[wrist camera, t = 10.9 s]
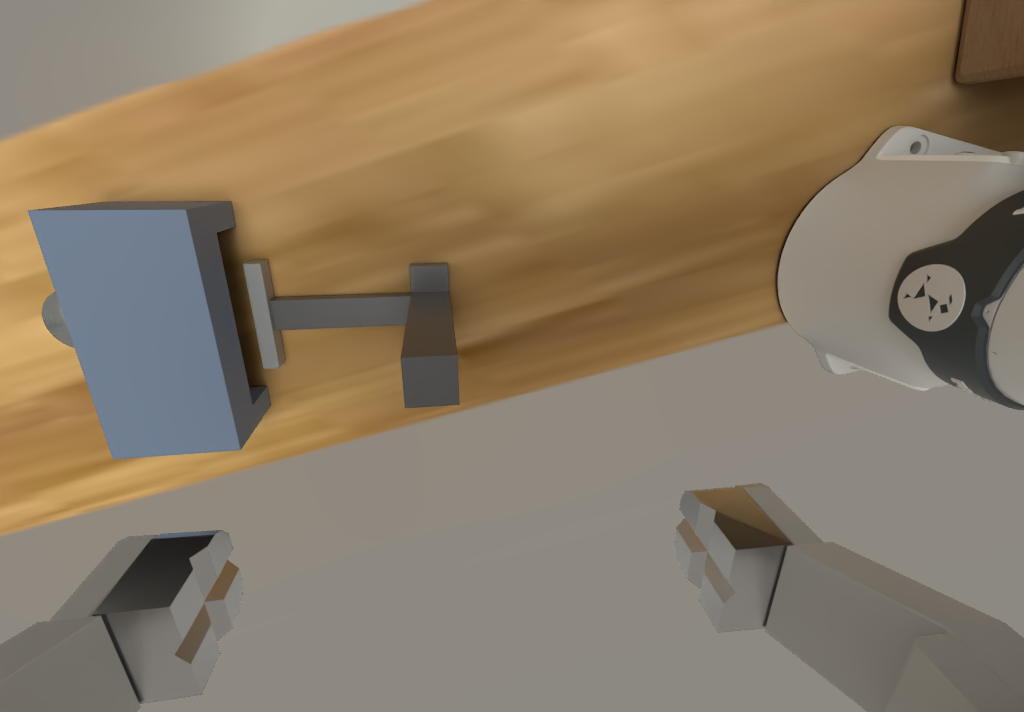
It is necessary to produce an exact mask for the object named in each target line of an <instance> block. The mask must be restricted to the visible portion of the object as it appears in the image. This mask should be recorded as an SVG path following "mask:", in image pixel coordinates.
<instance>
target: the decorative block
mask: <svg viewBox="0 0 1024 712" xmlns="http://www.w3.org/2000/svg"><path fill="white" fill-rule="evenodd" d="M1023 76H1024V0H967V2H966V8H965V15H964V21H963V28H962V34H961V41H960V48H959V54H958V61H957V67H956V74H955V78H956V82H959V83H963V84H966V85H969V84H976V83H983V82H989V81H996V80H1003V79H1009V78H1016V77H1023Z"/></svg>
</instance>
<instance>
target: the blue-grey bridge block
mask: <svg viewBox="0 0 1024 712" xmlns="http://www.w3.org/2000/svg"><path fill="white" fill-rule="evenodd" d="M28 213H29V216H30V219H31V222H32V225H33V228H34V231H35V233H36V236H37V239H38V242H39V245H40V248H41V251H42V254H43V257H44V260H45V263H46V266H47V268H48V271H49V274H50V277H51V280H52V283H53V286H54V289H55V292H56V295H57V298H58V301H59V303H60V306H61V309H62V312H63V315H64V318H65V321H66V324H67V327H68V330H69V333H70V336H71V338H72V341H73V344H74V347H75V350H76V353H77V356H78V359H79V362H80V365H81V368H82V371H83V373H84V376H85V379H86V382H87V385H88V388H89V391H90V394H91V397H92V400H93V403H94V406H95V409H96V411H97V414H98V417H99V420H100V423H101V426H102V429H103V432H104V435H105V438H106V441H107V444H108V446H109V449H110V452H111V455H112V458H113V459H125V458H139V457H153V456H167V455H180V454H194V453H208V452H222V451H236V450H241V449H242V447H243V446H244V444H245V443H246V442H247V440H248V439H249V437H250V436H251V434H252V433H253V431H254V430H255V428H256V427H257V425H258V424H259V422H260V421H261V419H262V418H263V416H264V415H265V413H266V412H267V410H268V409H269V407H270V406H271V403H270V398H269V393H268V388H267V386H262V387H249V385H248V380H247V375H246V371H245V366H244V361H243V356H242V352H241V347H240V342H239V337H238V333H237V328H236V323H235V318H234V313H233V309H232V304H231V299H230V294H229V290H228V285H227V280H226V275H225V271H224V266H223V261H222V256H221V252H220V247H219V242H218V237H217V232H220V231H223V230H226V229H230V228H233V227H236V224H235V218H234V213H233V208H232V203H231V201H199V202H99V203H90V204H81V205H72V206H64V207H55V208H46V209H37V210H28Z"/></svg>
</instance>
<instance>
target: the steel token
mask: <svg viewBox="0 0 1024 712" xmlns="http://www.w3.org/2000/svg"><path fill="white" fill-rule="evenodd" d="M42 317H43V321H44V323H45V326H46V327H47V329H48V330H49V332H50V333H51V334H52V335H53V336H54V337H55V338H56V339H58V340H59V341H61V342H62V343H64V344H66V345H68V346H70V347H73V348H75V347H74V344H73V341H72V338H71V336H70V333H69V330H68V327H67V324H66V321H65V318H64V315H63V312H62V309H61V306H60V303H59V301H58V298H57V295H56V292H54V293H52V294H51V295H50V296H48V298H47V299H46V300H45V302H44V304H43V307H42Z"/></svg>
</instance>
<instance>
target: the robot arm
mask: <svg viewBox="0 0 1024 712" xmlns="http://www.w3.org/2000/svg"><path fill="white" fill-rule="evenodd" d="M911 145H912V149H911V151H910V147H911ZM778 295H779V301H780V305H781V308H782V311H783V313H784V316H785V318H786V319H787V321H788V323H789V324H790V326H791V327H792V328H793V329H794V330H795V331H796V332H797V333H798V334H799V335H800V336H801V337H803V338H804V339H805V340H807V341H808V342H809V343H810V344H811V345H812V346H813V347H814V348H815V351H816V354H817V356H818V359H819V361H820V363H821V365H822V367H823V368H824V369H825V370H826V371H828V372H831V373H834V374H836V375H844V374H848V373H852V372H856V371H860V370H865V371H868V372H870V373H873V374H875V375H878V376H880V377H883V378H886V379H888V380H891V381H894V382H896V383H899V384H901V385H904V386H907V387H909V388H912V389H915V390H921V391H927V390H929V389H930V388H937V387H943V386H946V385H949V384H951V385H953V386H956V387H958V388H961V390H963V391H964V392H966V393H968V394H970V395H973V396H975V397H978V398H980V399H983V400H987V401H989V402H993V403H998V404H1002V405H1004V406H1007V407H1009V408H1013V409H1018V410H1024V152H1019V151H1005V152H1003V153H1002V152H998V151H995V150H991V149H988V148H984V147H981V146H978V145H974V144H971V143H967V142H964V141H960V140H957V139H954V138H950V137H947V136H943V135H940V134H936V133H933V132H930V131H926V130H923V129H919V128H916V127H912V126H894V127H891V128H889V129H888V130H887V131H886V132H884V133H883V134H882V135H881V136H880V137H879V139H878V140H877V141H876V142H875V143H874V145H873V146H872V147H871V148H870V150H869V151H868V152H867V153H866V155H865V156H864V157H863V159H862V160H861V161H860V162H859V163H858V164H856V165H855V166H854V167H852V168H851V169H850V170H848V171H847V172H845V173H844V174H842V175H841V176H839V177H838V178H836V179H835V180H833V181H832V182H831V183H829V184H828V185H827V186H826V187H825V188H823V189H822V190H821V191H820V192H819V193H818V194H817V195H816V196H815V197H814V198H813V199H812V201H811V202H810V203H809V204H808V205H807V207H806V208H805V209H804V211H803V212H802V213H801V215H800V216H799V218H798V219H797V221H796V223H795V225H794V226H793V228H792V230H791V232H790V234H789V236H788V239H787V241H786V244H785V246H784V249H783V252H782V256H781V260H780V265H779V271H778ZM679 509H680V511H681V512H682V514H683V515H684V517H685V519H684V520H683V521H682V522H681V523H680V524H679V525H678V526H677V528H676V536H675V548H676V555H677V559H678V562H679V564H680V567H681V570H682V571H683V573H684V575H685V576H686V579H687V580H688V581H690V582H691V583H693V584H694V585H696V586H697V587H699V588H701V591H700V597H699V601H700V603H701V605H702V606H703V608H704V610H705V612H706V613H707V615H708V617H709V618H710V620H711V622H712V623H713V625H714V627H715V629H716V630H717V632H731V631H742V630H753V629H764V628H765V632H767V633H768V634H769V635H770V636H772V637H773V638H774V639H775V640H777V641H778V642H780V643H781V644H782V645H783V646H784V647H786V648H787V649H788V650H790V651H791V652H792V653H793V654H795V655H796V656H797V657H798V658H800V659H801V660H802V661H803V662H805V663H806V664H807V665H809V666H810V667H811V668H812V669H814V670H815V671H816V672H817V673H819V674H820V675H821V676H823V677H824V678H825V679H827V680H828V681H829V682H830V683H831V684H833V685H834V686H835V687H837V688H838V689H839V690H840V691H842V692H843V693H844V694H846V695H847V696H848V697H849V698H851V699H852V700H853V701H854V702H856V703H857V704H858V705H859V706H861V707H862V708H863V709H865V710H866V711H867V712H1024V638H1023V637H1022V636H1020V635H1019V634H1018V633H1017V632H1016V631H1014V630H1013V629H1012V628H1011V627H1009V626H1008V625H1007V624H1006V623H1004V622H1002V621H1000V620H998V619H995V618H993V617H991V616H989V615H987V614H985V613H983V612H981V611H978V610H976V609H974V608H972V607H969V606H967V605H966V604H963V603H961V602H959V601H957V600H955V599H953V598H951V597H948V596H947V595H944V594H942V593H940V592H938V591H936V590H934V589H932V588H930V587H927V586H925V585H923V584H921V583H919V582H917V581H915V580H912V579H910V578H908V577H906V576H904V575H902V574H899V573H898V572H895V571H893V570H891V569H889V568H886V567H885V566H883V565H880V564H878V563H876V562H874V561H872V560H870V559H868V558H866V557H864V556H861V555H859V554H857V553H855V552H853V551H851V550H849V549H846V548H844V547H842V546H840V545H838V544H836V543H834V542H823V541H822V540H821V539H820V538H819V537H818V536H817V535H816V534H815V533H814V532H813V531H812V530H811V529H810V528H809V527H808V526H807V525H806V524H805V523H804V522H803V521H802V520H801V519H800V518H799V517H798V516H797V515H796V514H795V513H794V512H793V511H792V510H791V509H790V508H789V507H788V506H787V505H786V504H785V503H784V502H783V501H782V500H781V499H780V498H779V497H778V496H777V495H776V494H775V493H774V492H773V491H772V490H771V489H770V488H769V487H768V486H766V485H764V484H762V483H756V484H748V485H738V486H735V487H724V488H714V489H703V490H691V491H685V492H684V494H683V495H682V497H681V501H680V507H679ZM232 551H233V545H232V542H231V539H230V536H229V533H227V532H225V531H223V530H216V531H201V532H186V533H185V532H184V533H168V534H160V535H144V536H131V537H127V538H125V539H122V540H120V541H119V542H117V543H116V544H115V546H114V547H113V548H112V549H111V550H110V551H109V552H108V554H107V555H106V556H105V557H104V558H103V559H102V561H101V562H100V563H99V564H98V565H97V566H96V567H95V569H94V570H93V571H92V572H91V573H90V574H89V575H88V577H87V578H86V579H85V580H84V581H83V582H82V584H81V585H80V586H79V587H78V588H77V589H76V590H75V592H74V593H73V594H72V595H71V596H70V598H69V599H68V600H67V601H66V602H65V603H64V604H63V605H62V607H61V608H60V609H59V610H58V611H57V612H56V614H55V615H54V616H53V617H52V618H51V619H50V621H43V622H37V623H35V624H33V625H32V626H30V627H28V628H27V629H25V630H24V631H22V632H20V633H19V634H17V635H16V636H14V637H12V638H11V639H9V640H7V641H5V642H4V643H2V644H1V645H0V712H137V710H139V709H140V704H144V703H151V702H157V701H164V700H170V699H177V698H183V697H191V696H197V695H202V693H203V690H204V689H205V687H206V684H207V682H208V680H209V678H210V676H211V674H212V671H213V669H214V667H215V665H216V663H217V661H218V658H219V656H220V654H221V653H220V650H219V646H218V643H217V641H218V640H219V639H220V638H222V637H223V636H224V635H225V634H226V633H227V632H229V631H230V630H231V629H232V628H233V626H234V623H235V621H236V618H237V616H238V614H239V611H240V605H241V601H242V595H243V586H242V577H241V573H240V569H239V568H238V567H236V566H235V565H234V564H232V563H231V562H230V561H228V558H229V556H230V554H231V552H232Z"/></svg>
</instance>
